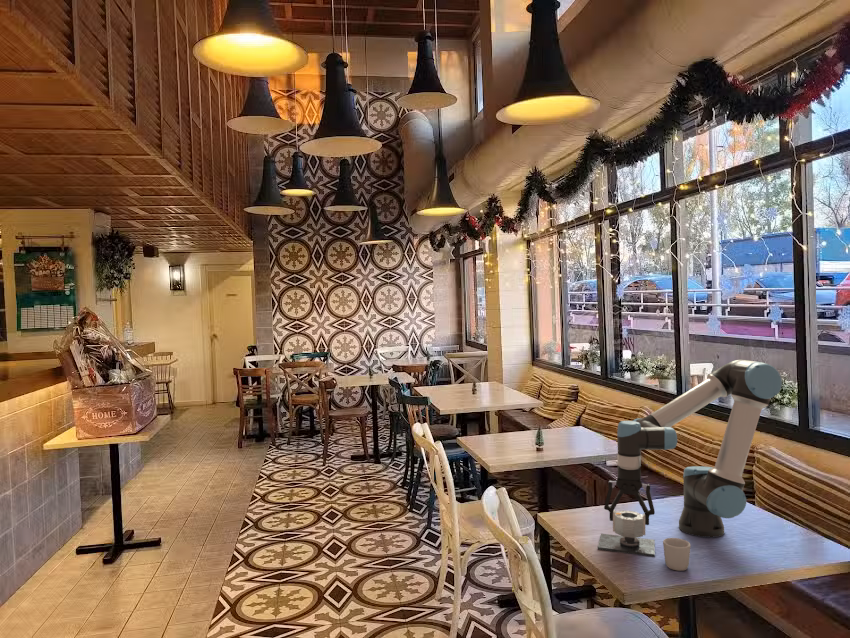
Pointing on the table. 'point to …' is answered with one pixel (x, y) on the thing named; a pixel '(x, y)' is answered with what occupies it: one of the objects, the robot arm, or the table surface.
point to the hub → (629, 524)
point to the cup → (676, 553)
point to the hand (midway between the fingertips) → (629, 531)
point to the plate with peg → (627, 545)
